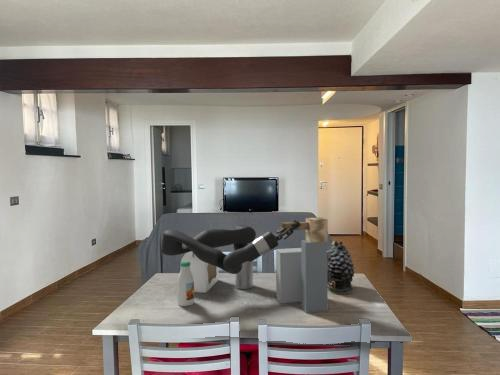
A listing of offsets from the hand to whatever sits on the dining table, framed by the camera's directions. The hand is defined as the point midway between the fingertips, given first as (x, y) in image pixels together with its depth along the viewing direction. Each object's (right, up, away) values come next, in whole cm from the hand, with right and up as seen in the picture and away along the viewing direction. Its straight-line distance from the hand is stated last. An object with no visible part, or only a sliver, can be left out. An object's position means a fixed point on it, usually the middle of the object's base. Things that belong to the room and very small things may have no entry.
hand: (298, 222), depth 153 cm
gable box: (-48, -39, +38) cm, 73 cm away
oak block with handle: (+3, -8, +1) cm, 9 cm away
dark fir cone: (+26, -38, +30) cm, 55 cm away
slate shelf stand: (+3, -39, +10) cm, 40 cm away
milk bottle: (-52, -40, +12) cm, 66 cm away
